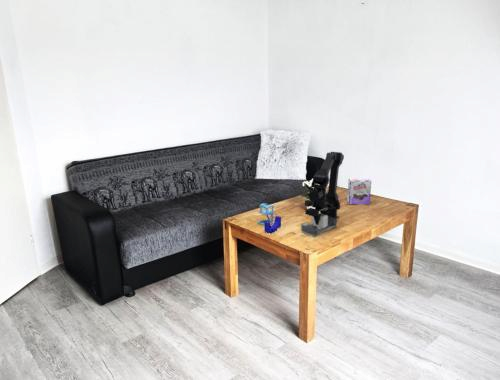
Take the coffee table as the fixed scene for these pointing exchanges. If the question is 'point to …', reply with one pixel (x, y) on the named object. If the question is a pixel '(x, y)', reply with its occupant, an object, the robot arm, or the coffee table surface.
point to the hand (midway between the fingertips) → (319, 223)
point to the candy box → (359, 191)
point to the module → (321, 221)
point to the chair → (266, 212)
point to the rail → (317, 230)
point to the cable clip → (274, 227)
